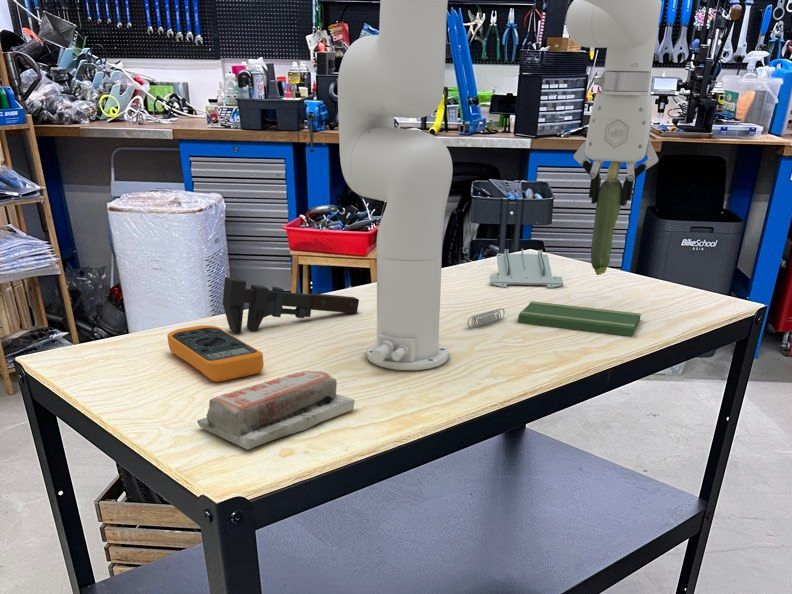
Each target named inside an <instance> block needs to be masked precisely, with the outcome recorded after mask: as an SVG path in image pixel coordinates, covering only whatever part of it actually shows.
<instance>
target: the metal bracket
mask: <svg viewBox="0 0 792 594" xmlns="http://www.w3.org/2000/svg"><path fill="white" fill-rule="evenodd" d="M520 252H521V253H509V249H508V248H507V249H506V248H505V249H504V253H496V264H497V271H498V274H497V275H495V274H491V275H489V282H490V285H493V286H497V287H500V288H507V286H508V285H526V286H527V285H530V286H547V288H548V289H555V288H558V287H562V286H564V280H563V277H562V276H555V275H554V276H553V273H552V268H551V264H550V259H549V255H548V254H547V253H546V254H545V253H544V254H543V249H538V253H524V248H521V251H520Z"/></svg>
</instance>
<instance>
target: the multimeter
mask: <svg viewBox="0 0 792 594" xmlns="http://www.w3.org/2000/svg"><path fill="white" fill-rule="evenodd" d="M167 342H168V343H167V344H168V349H169V350H170V352H171V353H172V354H174V355H175V356H177V357H179V358H180V359H182V361H185V362H186V363H188V364H189V365H190V366H192V367H194V368H195V369H196V370H198V371H199V372H201V373H202V374H203V375H204V376H205V377H207V378H208V379H209V380H210V381H213V382H216V383H220V382H226V381H229V380H234V379H239V378H243V377H248V376H252V375H253V376H254V375H257V374H260V373H262V371H263V370H264V354H263V352H262V351H260V350H259V349H257V348H254V347H253V346H251V345H249V344H247V343H246V342H245V341H243V340H241V339H239V338H237V337H235V336H234V335H232V334H231V333H229V332H227V331H225V330H224V329H223V328H221V327H219V326H216V325H208V324H207V325H205V324H204V325H201V324H200V325H194V326H189V327H183V328H178V329H175V330H172V331H170V332H169V333H167Z"/></svg>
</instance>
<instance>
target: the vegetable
mask: <svg viewBox="0 0 792 594" xmlns="http://www.w3.org/2000/svg"><path fill="white" fill-rule="evenodd" d="M624 163H625V162H618V161H611V163H610V165H609V166H608V169H607V174H606V177H607V178H606V179H605V180H604V181H602V182H601V184H600V189H599V192H598V197H597V202H596V203H595V204H596V206H595V213H594V223H593V232H592V240H591V246H590V263H591V267H592V268H593V270H594V272H595V274H596V276H599V275H603V274H605V273H606V271H607V269H608V266H609V264H610V261H611V253H612V245H613V236H614V231H615V226H616V223H617V221H618V218H619V215H620V211H621V208H622V206H621V205H620V204H621V197H622V190H623V184H622V182H621V180H619V179H618V178H619V176H620V175H619V174H620V169H621V166H624ZM620 165H621V166H620Z"/></svg>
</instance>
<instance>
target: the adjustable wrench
mask: <svg viewBox="0 0 792 594" xmlns="http://www.w3.org/2000/svg"><path fill="white" fill-rule="evenodd" d="M222 295H223V296H222V307H223V310H224V315H225V316H226V317H225V318H226V320H227V324H228V328H229V330H231V331H232V332H233V333H235V334H242V329H243V328H242V327H243V318H244V317H243V315H244V310H245V309H244V308H245V304H248V310H247V320H246V328H247V329H249V330H250V331H252V332H258V329H259V328H260V326H261V324H262V321H263V320H264V318H266V317H269V316H271V317H273V318H281V316H282V315H290V316H293V315H294V316H295V318H297V319H304V318H311V315H312V311H318V312H319V311H321V312H333V313H345V314H346V313H347V314H356V315H357V314H358V309H359V303H360V299H359V298H357V297H354V296H348V295H347V296H346V295H335V294H326V293H315V292H309V293H299V292H289V291H288V292H287V291H285V289H284V288H282V287H279V286H272V288H271V290H270V288H268V287H266V286H264V285H259V284H251V285H250V288H247V281H246V280H243V279H241V278H238V277H228V276H225V277H224V284H223V294H222ZM284 307H291V308H284Z"/></svg>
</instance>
